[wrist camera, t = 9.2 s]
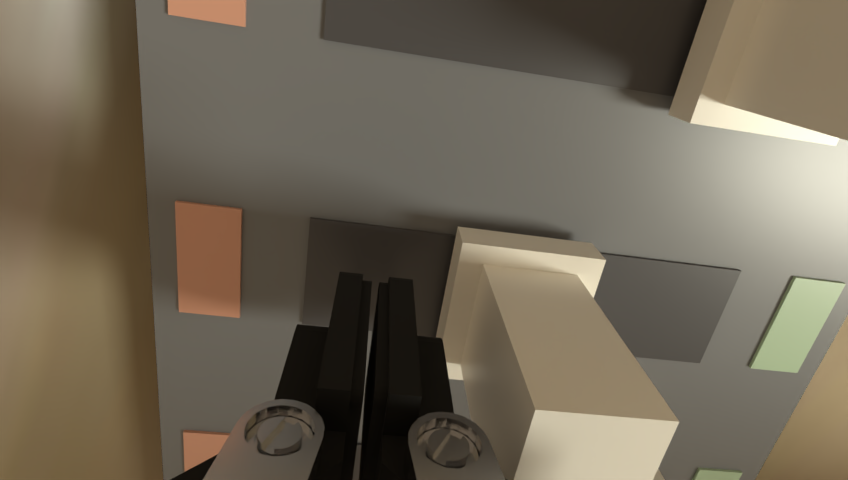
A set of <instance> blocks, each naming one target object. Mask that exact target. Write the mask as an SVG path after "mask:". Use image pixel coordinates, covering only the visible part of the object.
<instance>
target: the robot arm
mask: <svg viewBox="0 0 848 480" xmlns="http://www.w3.org/2000/svg"><path fill="white" fill-rule="evenodd" d="M371 288H372V281H365V280H363V274H358V273H349V272H339V277H338V282H337V288H336V293H335V298H334V303H333V308H332V313H331V318H330V323H329V327H323V326H312V325H302V324H297V326H296V329H295V332H294V335H293V338H292V342H291V345H290V348H289V352H288V355H287V359H286V362H285V365H284V369H283V372H282V375H281V379H280V382H279V385H278V389H277V392H276V395H275V399H274V400H271V401H266V402H264V403H261V404H258V405H255V406H254V407H252V408H251V409H249V410H248V411H246V412H245V413H244V414H243V415H242V417H241V418H240V419H239V420H238V421H237V423H236V425H235V426H234V428H233V430H232V431H231V433H230V435H229V437H228V438H227V440H226V442H225V443H224V445H223V447H222V448H221V450H220V452H219V453H218V454H217V455H215V456H213V457H212V458H210V459H208V460H206V461H204V462H202V463H200V464H198V465H197V466H195V467H193V468H191V469H189V470H187V471H185V472H183V473H182V474H180V475H178V476H176V477H174V478H172V479H170V480H352V479H353V471H354V464H355V457H356V449H357V442H358V434H359V427H360V420H361V412H362V404H363V396H364V386H365V396H364V410H363V425H362V439H361V454H360V468H359V480H507V479H506V478H505V477H504V475H503V473H502V470H501V468H500V465H499V463H498V460H497V458H496V456H495V453H494V451H493V448H492V446H491V443H490V441H489V439H488V437H487V436H486V434H485V433H484V431H483V430H482V429H481V428H480V427H479V426H478V425H477V424H476V423H475V422H473V421H471V420H469V419H468V418H466V417H464V416H461V415H458V414H455V413H454V409H453V403H452V396H451V390H450V383H449V377H448V370H447V364H446V358H445V351H444V345H443V340H442V338H437V337H427V336H417V326H416V313H415V301H414V288H413V279H404V278H395V277H389V280H388V283H384V282H379V287H378V294H377V302H376V309H375V316H374V324H373V331H372V339H371V346H370V353H369V361H368V368H367V376H366V384H365V373H366V359H367V345H368V331H369V316H370V302H371Z"/></svg>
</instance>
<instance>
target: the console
mask: <svg viewBox="0 0 848 480" xmlns="http://www.w3.org/2000/svg"><path fill="white" fill-rule="evenodd" d="M135 1H136V18H137V35H138V53H139V70H140V87H141V104H142V121H143V138H144V155H145V173H146V190H147V207H148V224H149V241H150V258H151V275H152V292H153V310H154V327H155V344H156V361H157V378H158V395H159V412H160V430H161V447H162V464H163V480H170V479H172V478H174V477H176V476H178V475H180V474H182V473H183V472H185V471H187V470H189V469H191V468H193V467H195V466H197V465H198V464H200V463H202V462H204V461H206V460H208V459H210V458H212V457H213V456H215V455H217V454H218V453H219V452H220V450H221V448H222V447H223V445H224V443H225V442H226V440H227V438H228V437H229V435H230V433H231V431H232V430H233V428H234V426H235V425H236V423H237V421H238V420H239V419H240V418H241V417H242V415H243V414H244V413H245V412H246V411H248V410H249V409H251V408H252V407H254V406H255V405H258V404H261V403H264V402H266V401H271V400H274V399H275V395H276V392H277V389H278V385H279V382H280V379H281V375H282V372H283V369H284V365H285V362H286V359H287V355H288V352H289V348H290V345H291V342H292V338H293V335H294V332H295V329H296V326H297V324H302V325H312V326H323V327H329V323H330V318H331V313H332V308H333V303H334V298H335V293H336V288H337V282H338V277H339V272H349V273H358V274H363V280H365V281H372V288H371V302H370V316H369V331H368V345H367V359H366V373H365V384H366V376H367V368H368V361H369V353H370V346H371V339H372V331H373V324H374V316H375V309H376V302H377V294H378V287H379V282H384V283H388V280H389V277H395V278H404V279H413V288H414V301H415V313H416V326H417V336H427V337H436V334H437V329H438V324H439V318H440V313H441V308H442V303H443V298H444V293H445V288H446V283H447V278H448V273H449V268H450V263H451V258H452V253H453V248H454V243H455V238H456V233H457V228H458V227H467V228H475V229H483V230H491V231H499V232H507V233H515V234H523V235H531V236H539V237H547V238H555V239H563V240H571V241H579V242H587V243H592V244H593V245H594V246H595V247H596V249H597V250H598V251H599V252H600V253H601V254H602V256H603V257H604V258H605V259H606V262H605V265H604V268H603V271H602V274H601V277H600V280H599V283H598V286H597V289H596V292H595V295H594V300H595V301H596V303H597V304H598V306H599V307H600V308H601V310H602V311H603V313H604V314H605V316H606V317H607V318H608V320H609V321H610V323H611V324H612V326H613V327H614V329H615V330H616V331H617V333H618V334H619V336H620V337H621V339H622V340H623V341H624V343H625V344H626V346H627V347H628V349H629V350H630V351H631V353H632V354H633V356H634V357H635V359H636V360H637V362H638V363H639V364H640V366H641V367H642V369H643V370H644V372H645V373H646V374H647V376H648V377H649V379H650V380H651V382H652V383H653V385H654V386H655V387H656V389H657V390H658V392H659V393H660V395H661V396H662V397H663V399H664V400H665V402H666V403H667V405H668V406H669V408H670V409H671V410H672V412H673V413H674V415H675V416H676V418H677V419H678V420H679V424H678V426H677V428H676V431H675V433H674V435H673V437H672V439H671V442H670V444H669V446H668V448H667V450H666V452H665V455H664V457H663V459H662V461H661V463H660V466H659V468H658V469H659V471H660V472H661V474H662V476H663V478H664V479H665V480H755V479H756V477H757V475H758V473H759V471H760V470H761V468H762V466H763V464H764V463H765V461H766V459H767V457H768V455H769V454H770V452H771V450H772V448H773V447H774V445H775V443H776V441H777V439H778V438H779V436H780V434H781V432H782V431H783V429H784V427H785V425H786V423H787V422H788V420H789V418H790V416H791V415H792V413H793V411H794V409H795V408H796V406H797V404H798V402H799V400H800V399H801V397H802V395H803V393H804V392H805V390H806V388H807V386H808V384H809V383H810V381H811V379H812V377H813V376H814V374H815V372H816V370H817V368H818V367H819V365H820V363H821V361H822V360H823V358H824V356H825V354H826V352H827V351H828V349H829V347H830V345H831V344H832V342H833V340H834V338H835V336H836V335H837V333H838V331H839V329H840V328H841V326H842V324H843V322H844V320H845V319H846V317H847V315H848V141H847V140H844V139H839V141H838V143H837V145H836V146H833V145H826V144H820V143H813V142H807V141H801V140H794V139H788V138H781V137H775V136H769V135H762V134H756V133H750V132H743V131H737V130H730V129H724V128H718V127H711V126H705V125H698V124H692V123H688V122H686V121H683V120H681V119H678V118H675V117H673V116H670V115H668V113H669V110H670V107H671V104H672V101H673V99H674V96H675V93H676V90H677V87H678V84H679V81H680V78H681V75H682V72H683V69H684V66H685V63H686V60H687V57H688V55H689V52H690V49H691V46H692V43H693V40H694V37H695V34H696V31H697V28H698V25H699V22H700V19H701V16H702V13H703V11H704V8H705V5H706V2H707V0H135ZM449 383H450V390H451V396H452V403H453V409H454V413H455V414H458V415H461V416H464V417H466V418H468V419H469V420H471V416H470V411H469V406H468V401H467V396H466V391H465V386H464V381H463V380H455V379H449ZM364 396H365V386H364ZM364 396H363V404H362V412H361V420H360V427H359V434H358V442H357V449H356V457H355V464H354V471H353V479H352V480H359V468H360V454H361V439H362V425H363V410H364Z"/></svg>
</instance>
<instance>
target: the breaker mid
mask: <svg viewBox="0 0 848 480" xmlns="http://www.w3.org/2000/svg"><path fill="white" fill-rule="evenodd" d="M605 262H606V259H605V258H604V257H603V256H602V254H601V253H600V252H599V251H598V250H597V249H596V247H595V246H594V245H593V244H592V243H587V242H579V241H571V240H563V239H555V238H547V237H539V236H531V235H523V234H515V233H507V232H499V231H491V230H483V229H475V228H467V227H458V228H457V233H456V238H455V243H454V248H453V253H452V258H451V263H450V268H449V273H448V278H447V283H446V288H445V293H444V298H443V303H442V308H441V313H440V318H439V324H438V329H437V334H436V337H437V338H442V340H443V345H444V351H445V358H446V364H447V370H448V377H449V379H455V380H463V381H464V386H465V391H466V396H467V401H468V406H469V411H470V416H471V421H473V422H475V423H476V424H477V425H478V426H479V427H480V428H481V429H482V430H483V431H484V433H485V434H486V436H487V437H488V439H489V441H490V443H491V446H492V448H493V451H494V453H495V456H496V458H497V460H498V463H499V465H500V468H501V470H502V473H503V475H504V477H505V478H506V479H507V480H653V479H654V477H655V474H656V472H657V470H658V468H659V466H660V463H661V461H662V459H663V457H664V455H665V452H666V450H667V448H668V446H669V444H670V442H671V439H672V437H673V435H674V433H675V431H676V428H677V426H678V424H679V420H678V419H677V418H676V416H675V415H674V413H673V412H672V410H671V409H670V408H669V406H668V405H667V403H666V402H665V400H664V399H663V397H662V396H661V395H660V393H659V392H658V390H657V389H656V387H655V386H654V385H653V383H652V382H651V380H650V379H649V377H648V376H647V374H646V373H645V372H644V370H643V369H642V367H641V366H640V364H639V363H638V362H637V360H636V359H635V357H634V356H633V354H632V353H631V351H630V350H629V349H628V347H627V346H626V344H625V343H624V341H623V340H622V339H621V337H620V336H619V334H618V333H617V331H616V330H615V329H614V327H613V326H612V324H611V323H610V321H609V320H608V318H607V317H606V316H605V314H604V313H603V311H602V310H601V308H600V307H599V306H598V304H597V303H596V301H595V300H594V295H595V292H596V289H597V286H598V283H599V280H600V277H601V274H602V271H603V268H604V265H605Z"/></svg>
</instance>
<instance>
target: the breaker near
mask: <svg viewBox="0 0 848 480" xmlns="http://www.w3.org/2000/svg"><path fill="white" fill-rule="evenodd" d="M668 115H670V116H673V117H675V118H678V119H681V120H683V121H686V122H688V123H692V124H698V125H705V126H711V127H718V128H724V129H730V130H737V131H743V132H750V133H756V134H762V135H769V136H775V137H781V138H788V139H794V140H801V141H807V142H813V143H820V144H826V145H833V146H836V145H837V143H838V141H839V139H844V140H847V141H848V0H707V2H706V5H705V8H704V11H703V13H702V16H701V19H700V22H699V25H698V28H697V31H696V34H695V37H694V40H693V43H692V46H691V49H690V52H689V55H688V57H687V60H686V63H685V66H684V69H683V72H682V75H681V78H680V81H679V84H678V87H677V90H676V93H675V96H674V99H673V101H672V104H671V107H670V110H669V113H668Z"/></svg>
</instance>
